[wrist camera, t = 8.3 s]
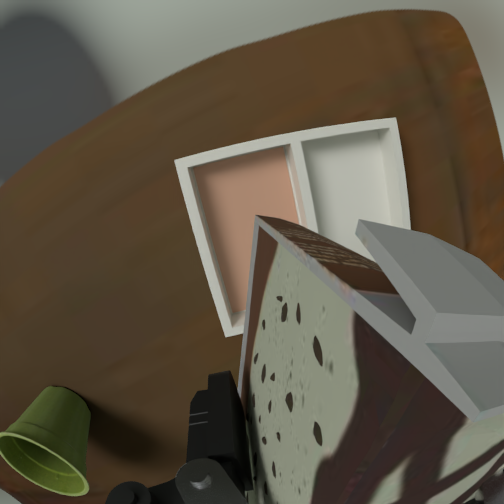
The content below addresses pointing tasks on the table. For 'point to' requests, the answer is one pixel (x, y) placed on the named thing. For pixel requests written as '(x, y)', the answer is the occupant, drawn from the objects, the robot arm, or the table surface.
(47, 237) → the table surface
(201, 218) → the tray
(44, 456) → the plant pot
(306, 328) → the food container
